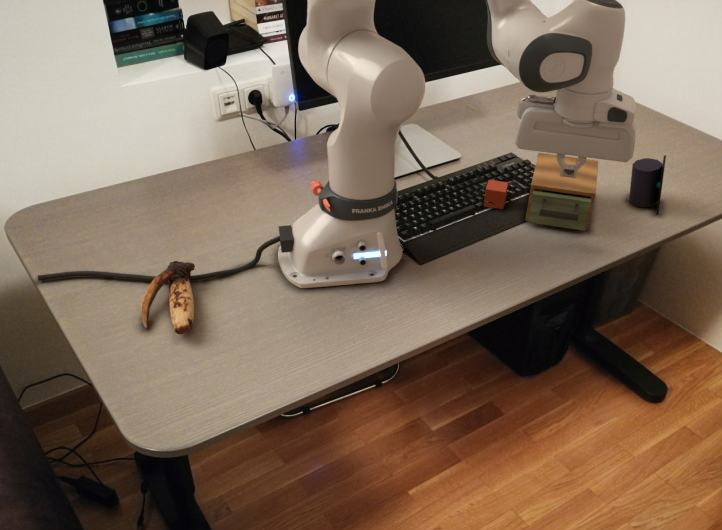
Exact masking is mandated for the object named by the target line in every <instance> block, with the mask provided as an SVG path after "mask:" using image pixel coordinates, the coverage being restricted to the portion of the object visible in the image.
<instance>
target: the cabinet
mask: <svg viewBox="0 0 722 530" xmlns="http://www.w3.org/2000/svg"><path fill="white" fill-rule="evenodd" d="M556 158H557V154H553V153H546V152H538V153H537V156H536V161H535V167H534V170H533V171H534V172H533V175H532V179H531V184H530V189H529V196H528V201H527V208H526V214H525V220H524V221H525V222H528V219H529V213H530V207H531V201H532V195H533V191H537V189H540V190H547V191H554V192H561V193H568V194H575V195H582V196H588V197H587V198H588V199H591V205H590V209H589V213H588V218H587V222H586V226H585V230H584V231H588V228H589V224H590V220H591V215H592V211H593V207H594V203H595V199H596V194H597V185H598V184H597V182H598V170H599V160H598V159H597V160H595V159H590V158H586V162H585V164H584V165H583V166H582V167H581V168H580V169H579V170H577V175H576V178H571V177H563V176H560V171H561V168H560V166H559V164H558V161H557V159H556ZM564 161H565V164H570V165H575V164H576V162H577V161H578V157H575V156H568V155H565V158H564Z"/></svg>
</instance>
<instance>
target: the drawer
mask: <svg viewBox="0 0 722 530" xmlns="http://www.w3.org/2000/svg"><path fill="white" fill-rule="evenodd" d="M587 197H588V196H582V195H575V194H568V193H561V192H554V191H547V190H540V189H537V191H533V195H532V201H531V207H530V213H529V219H528V221H527V223H530V224H531V223H532V224H538V225H545V226H553V227H557V228H558V227H559V228H564V229H571V230H576V231H577V230H578V231H586V230H585V226H586V222H587V218H588V213H589V209H590V205H591V199H588V198H587Z"/></svg>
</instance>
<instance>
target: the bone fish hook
mask: <svg viewBox="0 0 722 530" xmlns="http://www.w3.org/2000/svg"><path fill="white" fill-rule="evenodd" d="M166 267H167V268H166V269H164V270H163V271H162V272H160V273H159V274H158V275H157V277H156V278H155V279H154V280H153V281H150V283H149V284H148V286H147V288H146V290H145V292H144V294H143V297H142V300H141V303H140V319H141V322H142V324H143V326H144V329H145V330H148V328H149V323H150V321H149V320H150V311H151V307H152V305H153V303H154V301H155V299H156V296H157V294H158V293H159V292H160V290H161V289H162V288H163V286H164V285H165V284H166V283H168V293H169V295H168V301H169V305H168V309H169V312H170V320H171V323H172V327H173V329H174V333H175V334H177V335H179V336H180V335H185V334H186V333H188V332H189V330H190V328H191V327H192V325H193V324H194V319H195V318H194V314H195V309H194V307H195V306H194V304H195V303H194V301H195V300H194V299H195V298H194V294H193V289H192V285H191V281H189V277H190V276H192V275H191V272H192V271H194V270H195V268H196V266H195V263H193V262H189V261H187V262H184V261H177V260H175V261H174V260H173V261H170V262H169V265H168V266H166Z"/></svg>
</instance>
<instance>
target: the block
mask: <svg viewBox="0 0 722 530" xmlns="http://www.w3.org/2000/svg"><path fill="white" fill-rule="evenodd" d="M508 188H509V182H507V181H500V180H494V179H488V181H487V184H486V187H485V191H484V192H485V194H484V201H485V200H486V201H488V202H492V203H494V204H492V203H485V202H483V207H484V208H490V209H491V208H492V209H498V210H504V208H505V204H506V202H507V196H508ZM506 195H507V196H506Z"/></svg>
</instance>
